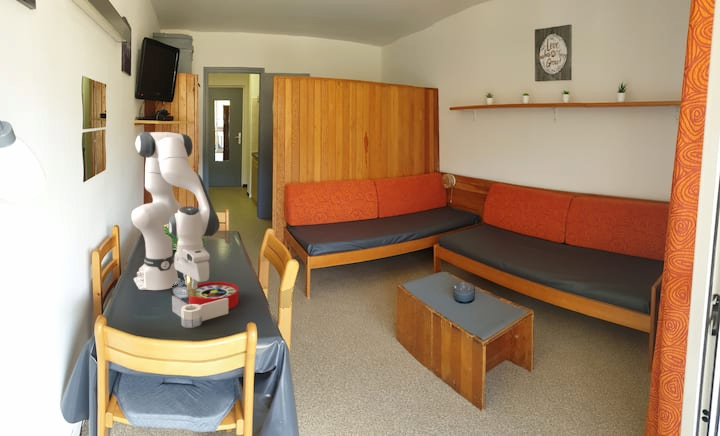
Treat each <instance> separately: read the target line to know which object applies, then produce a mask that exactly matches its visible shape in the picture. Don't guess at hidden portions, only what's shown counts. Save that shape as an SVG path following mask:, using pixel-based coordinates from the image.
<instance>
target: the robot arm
mask: <svg viewBox="0 0 720 436" xmlns="http://www.w3.org/2000/svg"><path fill="white" fill-rule="evenodd" d="M135 149H136V152H137V154H138V155H139V156H141V157H142V158H145V165H144V189H145V190H146V191H147V192H148V193H150V194H151V198H152V202H148V203H144V204H141V205H139V206H137V207H136V208H134V209H133V210H132V211H131V214H130V220H131V222H132V224H133V226H134V227H135V228H137V230H139V231H140V232H141V234H142V235H143V239H144V244H145V245H144V246H145V247H144V248H145V255H144V256H145V257H144V260H143V261H144V263H143V264H142V265H141V266H140V267H139V268H138V271H137V272H136V277H133V281H134V283H135V285H136V287H137V288H138V290H140V291H143V290H144V291H145V290H148V291H165V290H169V289H172V288H173V287H172V286H173V284H174V283H175V282H176V281H178V280H181V278H180V277H179V276H178V272H179V273H182V274H183V278H184V280H185V283H184V284H185V286H187V276H189V277H191V278H192V281H193V282H192V284H191V288H192V289H197V285H199V283H205V282H207V281H209V279H210V263H209V260H210V256H211V255H210V253H209V252H208V250H206V248H205V246H204V245H203V244H204V242H203V237H212V236H215V234H216V233H218V231H219V230H220V220H219V217H218V214H217V212H216V210H215V209H214V206H213V203H212V201H211V198H210V196H209V192H208V191H207V188H206V186H205V183H204V181H203V178H202V177H201V175H200V174H198V173H197V172H195V171H194V170H193V168H192V167H191V164H190V162H189V161H190V160H189V157H190V156H191V155H192V153H193V150H194V146H193V140H192V138H191V137H190V136H189V135H187V134H184V133H177V132H170V131H169V132H168V131H164V132H163V131H153V132H152V131H151V132H149V131H143V132H139V134H138V135H137V136H136V139H135ZM173 187H178V188H181V189H184V190H187V191H190V192H191V193H192V194H194V196H195V197H196V200H197V202H198V206H199V208H198V207H195V206H189V205H188V206H183V207H182V205H181V203H180V202H179V201H178V200H177V199H176V197H175V193H174V188H173ZM165 225H166V226H167V225H168V233H169V234H170V235H171V236H172V237H174V238H177V243H176V244H177V245H176V246H177V247H176V251H175V253H174V254H173V240H172V239H173V238H172V237H171V236H170V235H168V234H166V231H165Z"/></svg>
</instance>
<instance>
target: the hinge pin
mask: <svg viewBox="0 0 720 436" xmlns="http://www.w3.org/2000/svg"><path fill="white" fill-rule="evenodd" d="M192 282H193V281H192V278H191V277H189V276H187V285H186V288H187V289H186V291H187V292H186V293H187V294H186V296H187V298H189V297H194V296H196V289H192V288H191V284H192Z"/></svg>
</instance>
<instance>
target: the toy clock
mask: <svg viewBox="0 0 720 436" xmlns="http://www.w3.org/2000/svg"><path fill="white" fill-rule="evenodd" d="M224 298H228V310H230V309H233V308H235V307H236V306H237V305H238V304H239V287H238V286H237V285H236V284H233V283H231V282H225V281H209V282H202V283H198V284H197V289H196V296H194V297H188V301H189V303H188V305H189V304H199V305H202V304H205V303H209V302H213V301H216V300H220V299H224Z"/></svg>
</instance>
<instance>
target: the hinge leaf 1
mask: <svg viewBox="0 0 720 436" xmlns="http://www.w3.org/2000/svg"><path fill="white" fill-rule="evenodd" d="M171 305H172V306H171V307H172V309H171V310H172V313H174V314H176V315H177V316H178V317H180V319H181V320H180V321H181V323H180V324H181V325H180V326H182V327H183V328H187V329H195V328H197V327H200V326H201V325H202V323H203V321H202V315H201V317H200V318H197V319H194V320H193V319H192V320H185V319H183V318H182V317H181V308H182V307H183V306H185V305H189V303H186V302H185V301H183V300H182V299H181V298H179V297H177V296H176V295H172V296H171Z"/></svg>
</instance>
